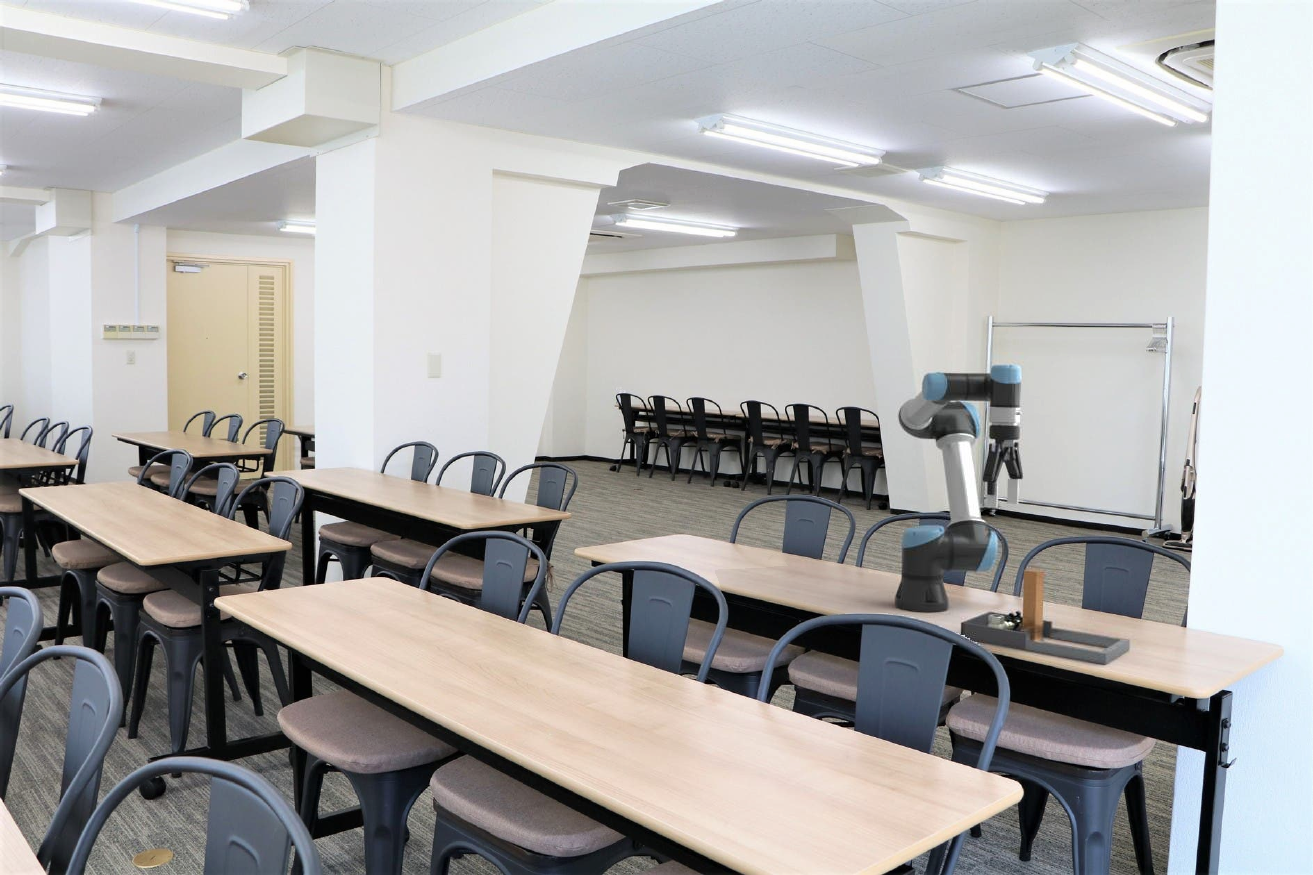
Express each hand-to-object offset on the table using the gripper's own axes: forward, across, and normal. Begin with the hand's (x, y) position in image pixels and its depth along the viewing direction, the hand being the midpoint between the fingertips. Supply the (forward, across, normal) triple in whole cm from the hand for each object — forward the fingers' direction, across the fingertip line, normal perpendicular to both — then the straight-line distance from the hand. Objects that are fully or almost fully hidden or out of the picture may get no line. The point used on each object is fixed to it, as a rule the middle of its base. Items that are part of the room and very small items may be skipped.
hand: (1002, 505), depth 258 cm
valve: (+33, -9, -5) cm, 35 cm away
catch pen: (+33, -7, -5) cm, 34 cm away
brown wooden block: (+33, -7, -11) cm, 35 cm away
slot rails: (+33, -7, -22) cm, 40 cm away
